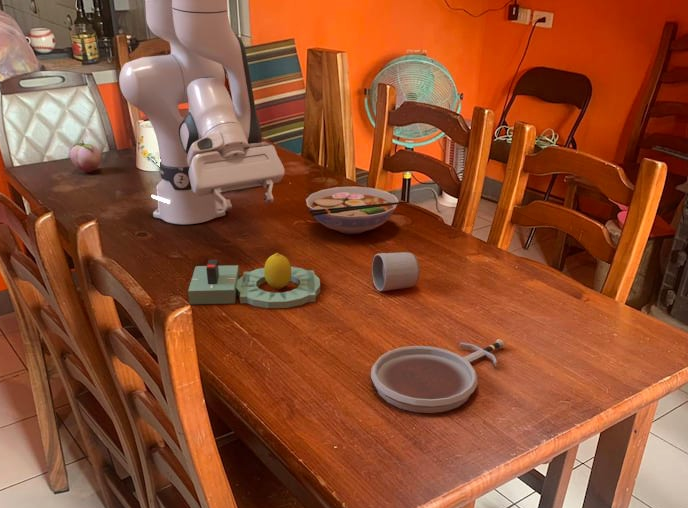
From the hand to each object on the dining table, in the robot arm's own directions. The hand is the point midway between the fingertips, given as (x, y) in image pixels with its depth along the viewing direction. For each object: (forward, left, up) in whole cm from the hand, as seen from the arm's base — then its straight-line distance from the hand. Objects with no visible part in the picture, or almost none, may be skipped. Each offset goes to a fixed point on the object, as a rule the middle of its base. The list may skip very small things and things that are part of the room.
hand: (249, 205), depth 141 cm
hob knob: (+11, -7, -11) cm, 18 cm away
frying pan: (+44, +34, -15) cm, 58 cm away
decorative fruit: (-78, -56, -15) cm, 97 cm away
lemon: (+11, +6, -15) cm, 19 cm away
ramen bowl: (-24, +23, -15) cm, 36 cm away
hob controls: (+10, -7, -14) cm, 19 cm away
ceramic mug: (+9, +29, -15) cm, 34 cm away
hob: (+10, +6, -14) cm, 19 cm away
